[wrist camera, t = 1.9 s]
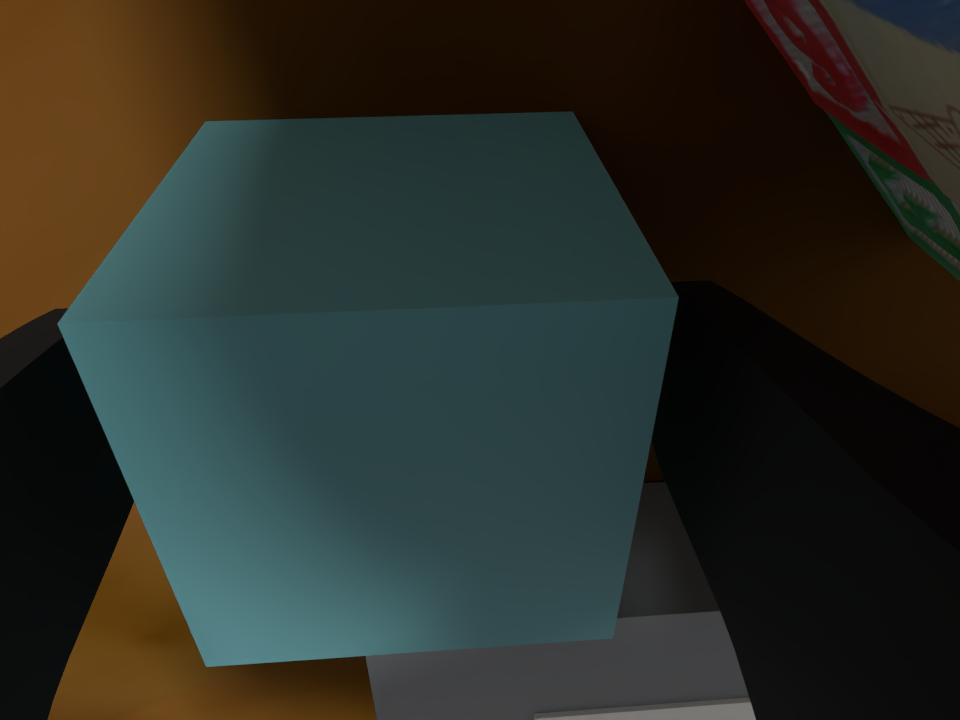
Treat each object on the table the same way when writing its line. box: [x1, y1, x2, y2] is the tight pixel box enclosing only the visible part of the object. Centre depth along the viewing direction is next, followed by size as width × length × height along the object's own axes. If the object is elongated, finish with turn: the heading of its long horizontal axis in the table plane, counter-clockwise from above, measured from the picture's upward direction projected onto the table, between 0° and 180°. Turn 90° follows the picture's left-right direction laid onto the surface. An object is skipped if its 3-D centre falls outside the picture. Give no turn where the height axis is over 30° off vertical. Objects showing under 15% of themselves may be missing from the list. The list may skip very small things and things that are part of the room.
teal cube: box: [57, 111, 679, 667], centre depth 9 cm, size 5×5×5 cm
